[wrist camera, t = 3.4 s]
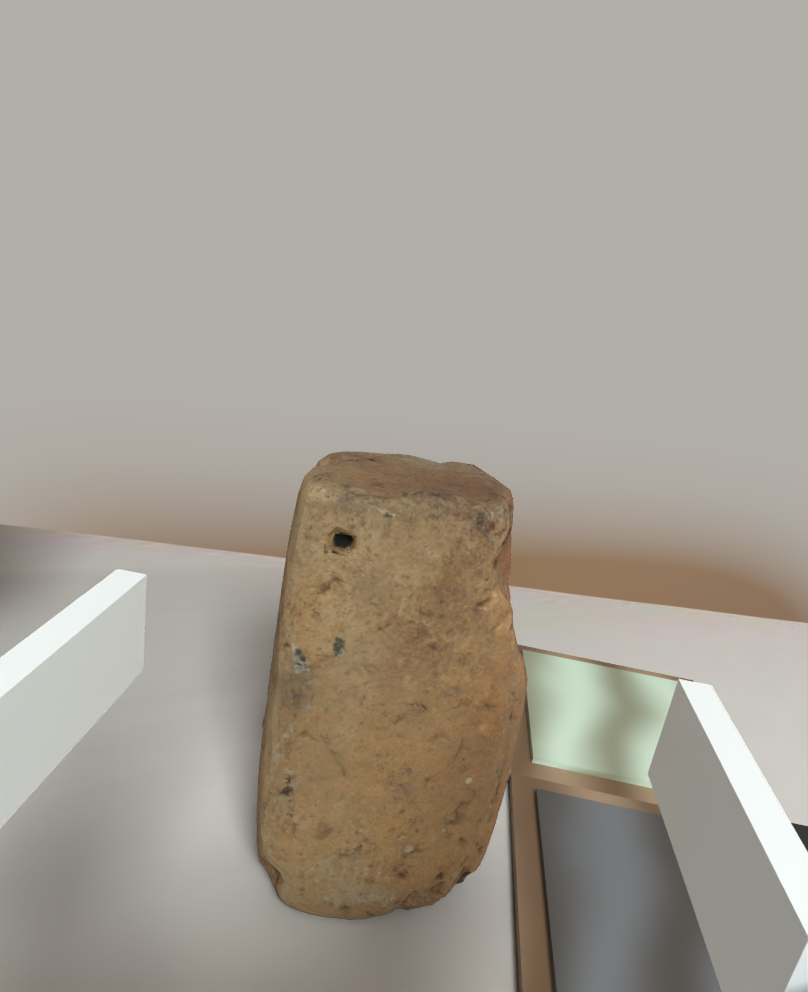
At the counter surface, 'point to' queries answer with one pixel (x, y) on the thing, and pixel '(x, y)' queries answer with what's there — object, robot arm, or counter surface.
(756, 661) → the counter surface
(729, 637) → the counter surface
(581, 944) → the board
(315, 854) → the block
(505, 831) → the counter surface
